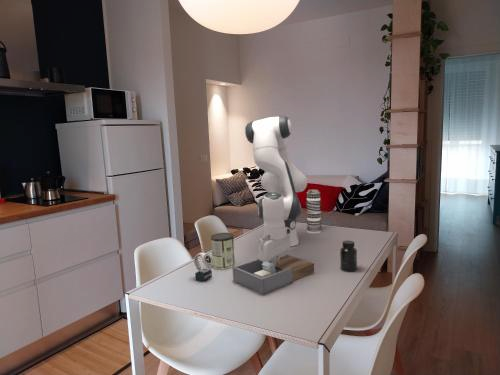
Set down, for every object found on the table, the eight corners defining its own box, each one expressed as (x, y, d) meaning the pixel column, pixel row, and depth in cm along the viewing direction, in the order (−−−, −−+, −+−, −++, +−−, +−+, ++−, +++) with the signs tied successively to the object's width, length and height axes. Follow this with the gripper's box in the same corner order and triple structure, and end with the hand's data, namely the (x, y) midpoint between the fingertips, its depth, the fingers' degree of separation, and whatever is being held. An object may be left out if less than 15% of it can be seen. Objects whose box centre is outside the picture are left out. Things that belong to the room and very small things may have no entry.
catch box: (233, 281, 149) (232, 267, 148) (262, 270, 159) (262, 257, 158) (262, 295, 135) (261, 279, 134) (292, 282, 145) (292, 268, 144)
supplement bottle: (351, 265, 161) (351, 239, 159) (360, 270, 154) (360, 243, 152) (337, 267, 159) (337, 240, 157) (345, 273, 153) (345, 245, 151)
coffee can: (219, 260, 174) (217, 231, 172) (238, 262, 170) (237, 233, 168) (208, 268, 165) (206, 237, 163) (228, 270, 161) (226, 239, 159)
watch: (207, 282, 149) (206, 256, 147) (192, 279, 153) (190, 254, 151) (215, 277, 153) (214, 252, 152) (200, 274, 157) (198, 250, 156)
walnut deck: (264, 271, 158) (263, 262, 158) (287, 263, 167) (286, 254, 166) (290, 281, 146) (290, 272, 145) (314, 272, 155) (313, 263, 154)
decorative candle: (306, 233, 214) (305, 191, 210) (306, 229, 223) (305, 189, 219) (322, 233, 212) (321, 191, 209) (321, 229, 221) (321, 188, 218)
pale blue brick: (268, 271, 153) (264, 274, 152) (266, 261, 152) (261, 264, 151) (276, 274, 149) (272, 277, 148) (274, 264, 148) (269, 267, 147)
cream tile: (263, 269, 151) (263, 275, 151) (253, 272, 148) (253, 278, 148) (271, 272, 147) (271, 278, 147) (261, 276, 144) (261, 282, 144)
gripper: (267, 240, 138) (268, 275, 140) (292, 227, 155) (293, 259, 157) (253, 238, 142) (255, 272, 144) (280, 226, 159) (280, 257, 161)
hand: (275, 265), depth 151 cm, fingers closed
